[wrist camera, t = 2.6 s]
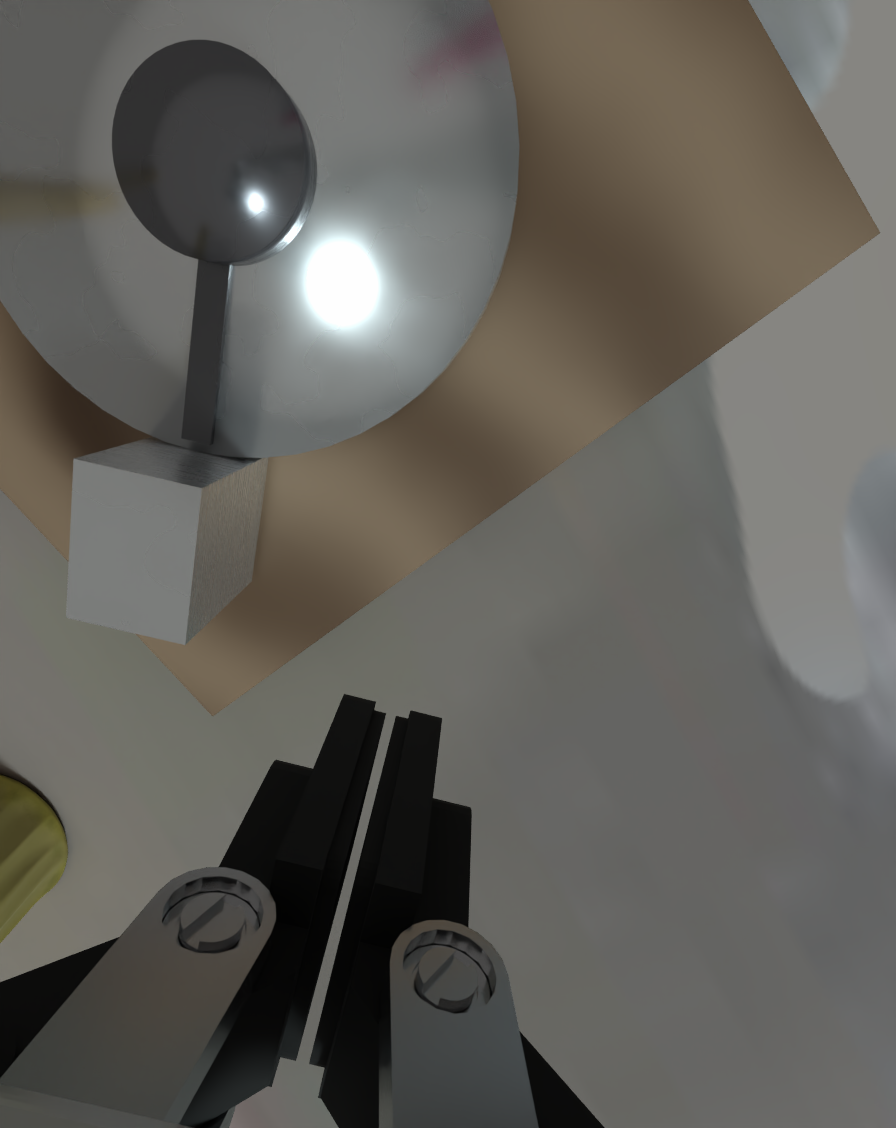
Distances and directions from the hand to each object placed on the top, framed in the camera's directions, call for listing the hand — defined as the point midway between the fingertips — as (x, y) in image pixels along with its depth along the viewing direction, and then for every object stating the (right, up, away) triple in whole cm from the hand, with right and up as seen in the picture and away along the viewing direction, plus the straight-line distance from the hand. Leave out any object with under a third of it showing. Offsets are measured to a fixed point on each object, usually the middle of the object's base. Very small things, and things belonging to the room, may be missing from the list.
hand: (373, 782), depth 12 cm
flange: (-4, +12, +7) cm, 15 cm away
